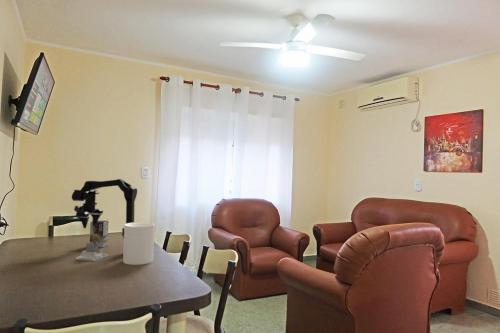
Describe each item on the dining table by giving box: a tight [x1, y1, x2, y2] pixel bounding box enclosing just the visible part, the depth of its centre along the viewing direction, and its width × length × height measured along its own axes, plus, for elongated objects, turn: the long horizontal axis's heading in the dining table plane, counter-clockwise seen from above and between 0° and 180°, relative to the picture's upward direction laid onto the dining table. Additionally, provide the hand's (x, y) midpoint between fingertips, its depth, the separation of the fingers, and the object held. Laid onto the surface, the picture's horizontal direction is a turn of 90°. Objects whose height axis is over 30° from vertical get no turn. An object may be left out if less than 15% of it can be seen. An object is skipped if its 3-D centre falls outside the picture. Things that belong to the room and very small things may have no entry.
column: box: [85, 241, 99, 252], centre depth 188 cm, size 4×4×7 cm
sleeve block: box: [74, 248, 109, 262], centre depth 188 cm, size 12×12×4 cm
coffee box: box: [89, 219, 109, 248], centre depth 216 cm, size 9×6×16 cm
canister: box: [122, 221, 156, 266], centre depth 186 cm, size 16×16×20 cm
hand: (89, 227), depth 204 cm, fingers open, 9 cm apart
